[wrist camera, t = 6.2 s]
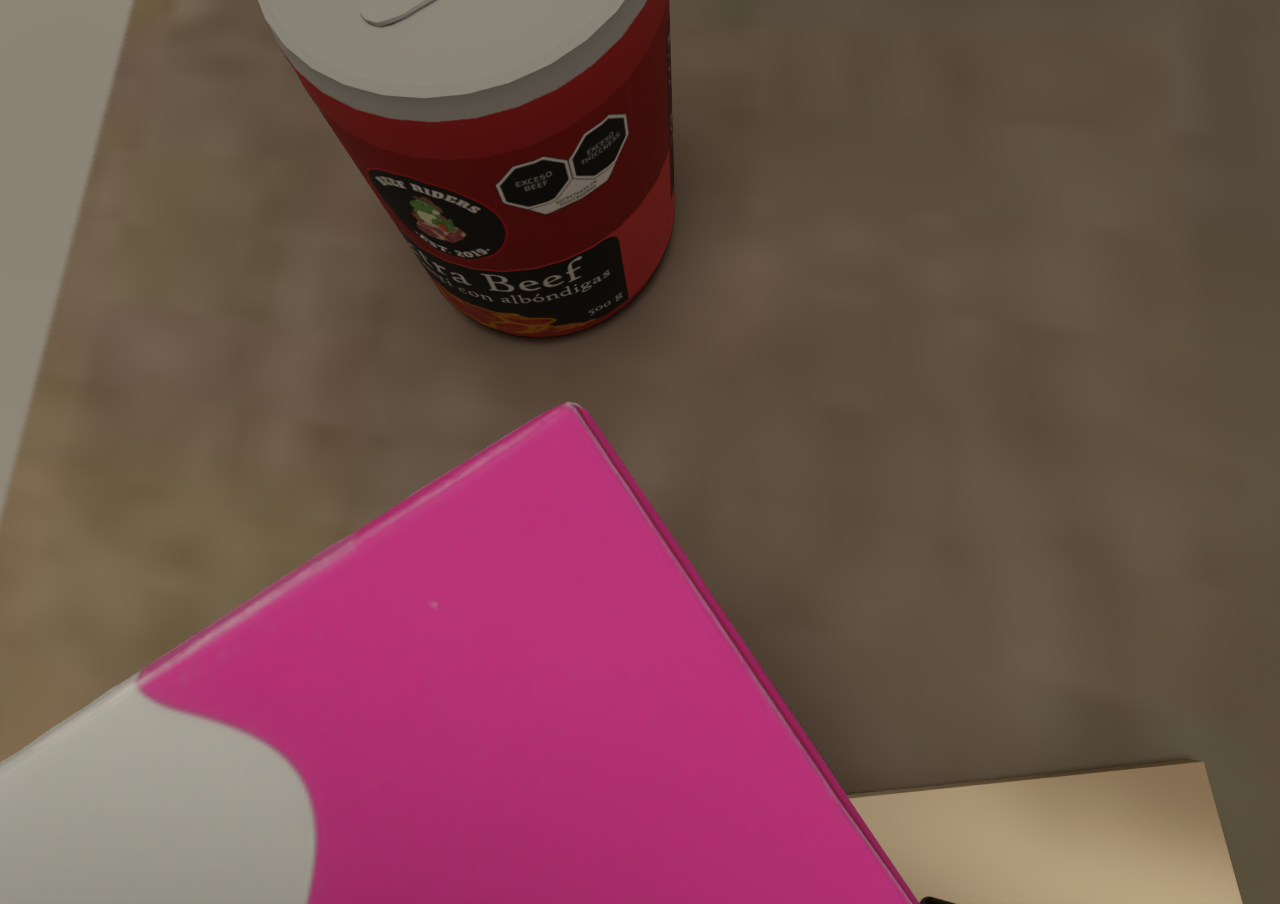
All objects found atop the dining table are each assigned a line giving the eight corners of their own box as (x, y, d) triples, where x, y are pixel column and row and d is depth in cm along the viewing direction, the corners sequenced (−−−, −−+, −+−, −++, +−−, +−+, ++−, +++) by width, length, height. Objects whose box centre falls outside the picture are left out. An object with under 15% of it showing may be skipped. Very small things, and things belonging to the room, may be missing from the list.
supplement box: (557, 1010, 15) (190, 1889, 4) (402, 726, 17) (-170, 802, 6) (814, 821, 16) (1102, 1142, 5) (641, 564, 17) (549, 345, 6)
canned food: (387, 302, 25) (168, 32, 15) (491, 92, 27) (364, -283, 17) (618, 382, 24) (561, 153, 14) (711, 158, 26) (725, -200, 15)
